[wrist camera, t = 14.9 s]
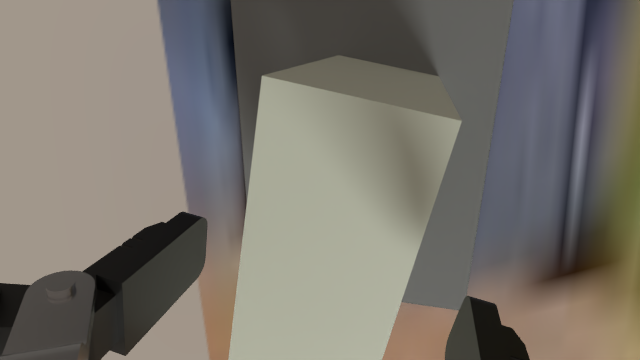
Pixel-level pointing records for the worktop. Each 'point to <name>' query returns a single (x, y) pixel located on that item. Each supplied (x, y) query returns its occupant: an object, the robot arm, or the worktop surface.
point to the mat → (407, 53)
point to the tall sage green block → (337, 207)
